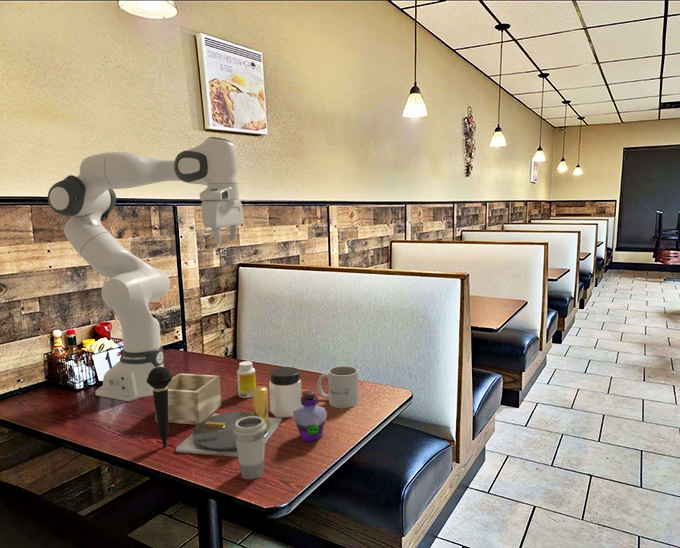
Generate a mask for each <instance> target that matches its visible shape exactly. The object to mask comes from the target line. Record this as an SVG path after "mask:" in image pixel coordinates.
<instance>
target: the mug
mask: <svg viewBox="0 0 680 548" xmlns="http://www.w3.org/2000/svg"><path fill="white" fill-rule="evenodd" d="M323 378H327V379H328V394H327V393H325V392H324V391H323V388H322V380H323ZM317 391H318V393H319V394H320V396H321V397H323V398H324V399H328V404H329V405H330V406H331V407H334V408H339V409H347V408H352V407H355V406H357V405H358V404H359V370H358V368H356V367H354V366H349V365H339V366H338V365H337V366H334V367H331V368H329V369H328V371H327V373H322V374H321V375H319V378H318V380H317Z"/></svg>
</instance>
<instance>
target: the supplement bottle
mask: <svg viewBox="0 0 680 548" xmlns="http://www.w3.org/2000/svg"><path fill="white" fill-rule="evenodd" d="M238 366H239V367H238V369H237V370H236V378H237V379H236V380H237V382H236V383H237V394H238V395H237V396H238V397H240V398H241V399H242V398H243V399H250V398H253V392H252V389H253V388H254V387H257V379H256V377H257V375H256V369H255V367H253V362H252V361H251V360H250V361H249V360H247V361H242V362H241V361H240V362H239V364H238Z"/></svg>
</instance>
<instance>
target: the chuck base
mask: <svg viewBox="0 0 680 548" xmlns="http://www.w3.org/2000/svg"><path fill="white" fill-rule="evenodd" d="M219 414H220V413H216V412H213V413H212V414H211V415H210V417H212V416H215V415H219ZM282 421H283V417H269V422H270V431H269V433H268V434H267V435H266V436H265V444H266V443H267V442H268V440H269V438H270V437H271V436H272V435H273V433H274V432H275V431H276V429H277V428H278V427H279V426H280V424H281V423H282ZM175 449H176V450H175V452H176V453H184V454H197V455H198V454H199V455H210V456H222V457H223V456H224V457H225V456H226V457H235V458H238V453H237V449H229V450H214V449H208V448H204V447H201V446H199V445H198V444H196V443H195V442H194V440H193V432H192V433H191V434H189V436H188V437H186V438H185V440H183V441H182V442H181V443H180V444H179V445H177V447H175Z"/></svg>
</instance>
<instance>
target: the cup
mask: <svg viewBox="0 0 680 548" xmlns="http://www.w3.org/2000/svg"><path fill="white" fill-rule="evenodd" d="M266 427H267V425H266V423H265V422H264V420H263V419H262V418H261V417H257V416H249V417H244V418H241V419H239V420H238V421H236V423H235V426H234V428H233V432H234V433H235V434H236V445H237V453H238V457H237V458H238V463H239V467H240V475H241V478H243V479H245V480H255V479H258V478H260V477H262V475H264V461H265V445H266V443H265V433H264V430H265V429H266Z"/></svg>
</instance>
